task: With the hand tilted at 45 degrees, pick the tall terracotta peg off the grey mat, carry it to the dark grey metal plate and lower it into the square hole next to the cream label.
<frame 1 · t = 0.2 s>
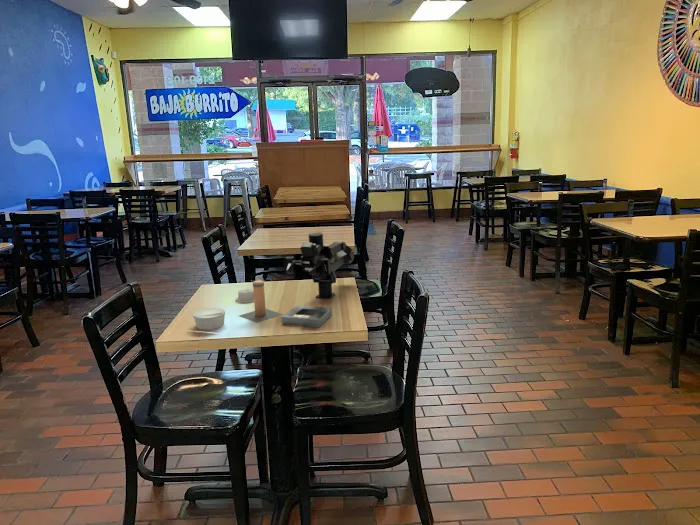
hand: (297, 272, 197), 17 cm above the table, tool horizontal, fingers open, 9 cm apart
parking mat: (260, 316, 201), on the table
mechanical component: (248, 301, 222), on the table
ramekin: (210, 327, 192), on the table
flange plate: (307, 319, 195), on the table
peg: (260, 315, 201), resting on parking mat
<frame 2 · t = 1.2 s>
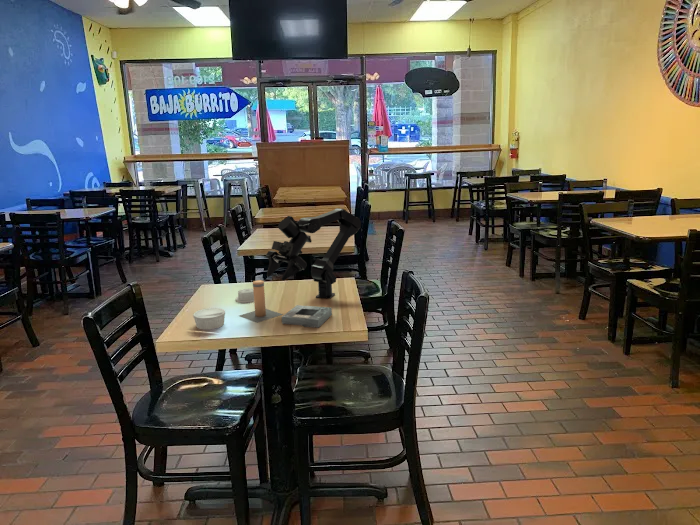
hand: (274, 278, 203), 13 cm above the table, tool tilted 45°, fingers open, 9 cm apart
nothing on the table moved.
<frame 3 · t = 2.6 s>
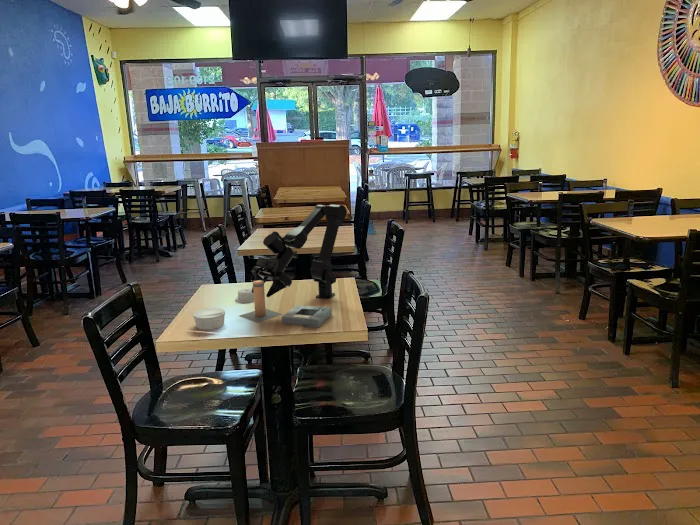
hand: (259, 294, 199), 8 cm above the table, tool tilted 45°, fingers open, 9 cm apart
nothing on the table moved.
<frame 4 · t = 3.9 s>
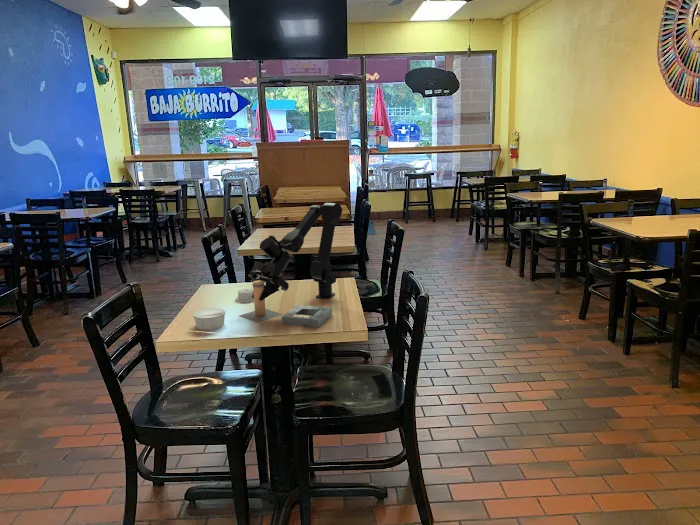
hand: (256, 299, 199), 7 cm above the table, tool tilted 45°, fingers closed on peg, 4 cm apart
peg: (260, 315, 201), point 1 cm above the table, touching gripper, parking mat
everything else where it was.
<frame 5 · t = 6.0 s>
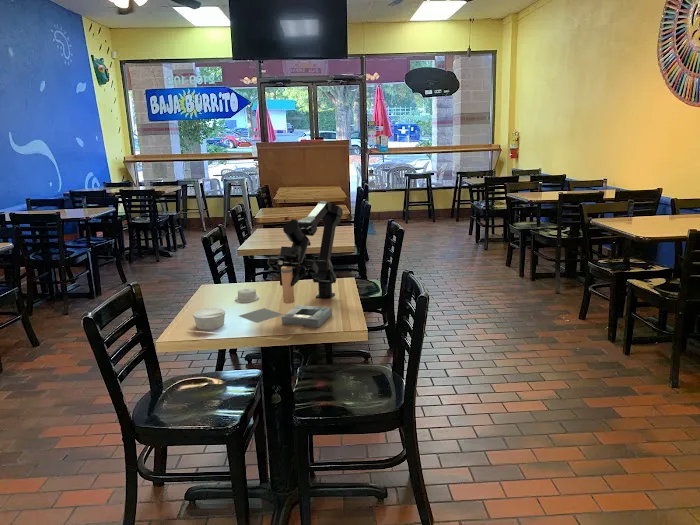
hand: (286, 285, 192), 13 cm above the table, tool tilted 45°, fingers closed on peg, 4 cm apart
peg: (288, 301, 195), point 7 cm above the table, touching gripper
everything else where it was.
when the fingers open (8 cm above the table, at t = 8.2 s): peg drops 1 cm, resting in flange plate.
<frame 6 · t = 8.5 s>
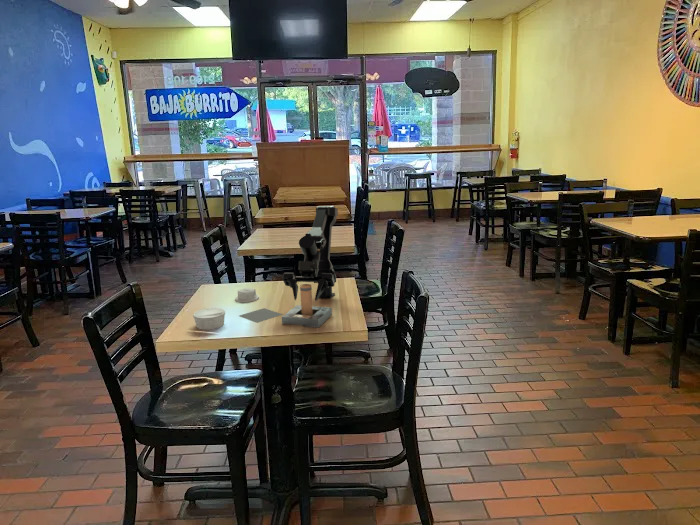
hand: (305, 299, 192), 8 cm above the table, tool tilted 45°, fingers open, 7 cm apart
peg: (307, 319, 195), resting in flange plate
everything else where it was.
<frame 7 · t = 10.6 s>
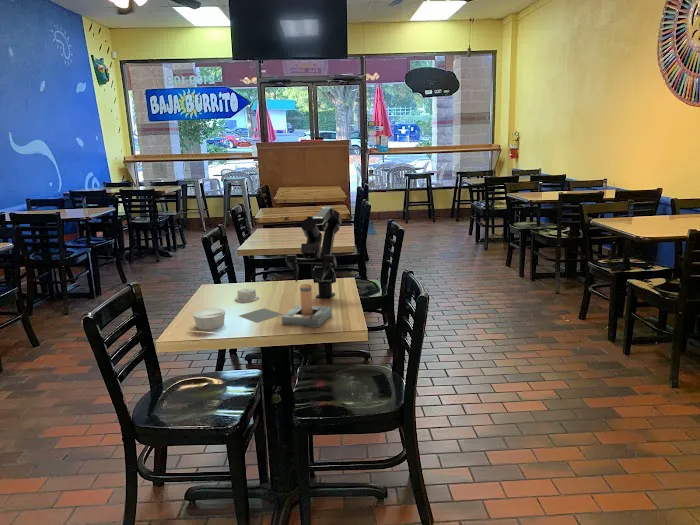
hand: (308, 281, 197), 13 cm above the table, tool tilted 40°, fingers open, 9 cm apart
nothing on the table moved.
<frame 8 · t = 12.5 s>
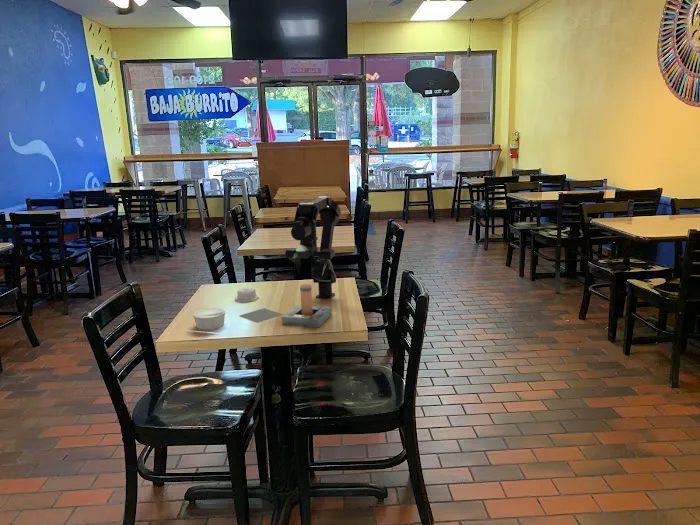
hand: (310, 275, 208), 13 cm above the table, tool pointing down, fingers open, 9 cm apart
at the end: peg 0.0 cm off-centre on the flange plate, point 0.0 cm above the flange plate's base; peg tilted 0°; the gripper is holding nothing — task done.
